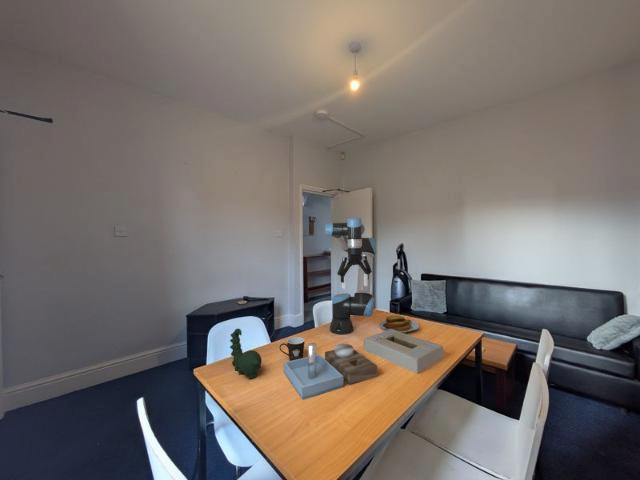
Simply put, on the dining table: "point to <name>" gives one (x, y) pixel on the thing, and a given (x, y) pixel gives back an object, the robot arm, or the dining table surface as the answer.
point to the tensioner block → (351, 364)
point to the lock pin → (311, 360)
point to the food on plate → (399, 324)
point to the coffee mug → (294, 348)
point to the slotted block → (404, 350)
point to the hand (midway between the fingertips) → (355, 287)
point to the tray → (307, 387)
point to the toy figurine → (244, 357)
